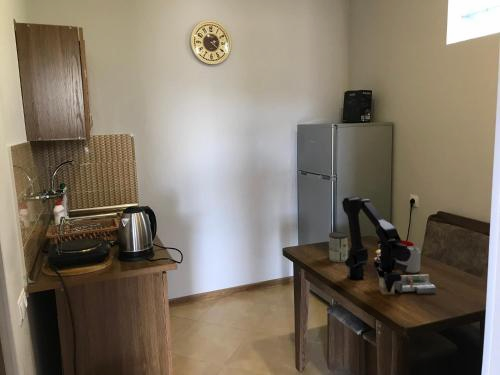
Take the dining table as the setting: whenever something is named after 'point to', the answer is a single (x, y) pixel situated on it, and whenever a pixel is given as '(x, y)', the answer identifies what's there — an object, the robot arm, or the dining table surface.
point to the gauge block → (384, 287)
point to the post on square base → (408, 286)
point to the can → (413, 260)
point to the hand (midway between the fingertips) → (386, 289)
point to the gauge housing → (419, 283)
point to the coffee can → (338, 246)
